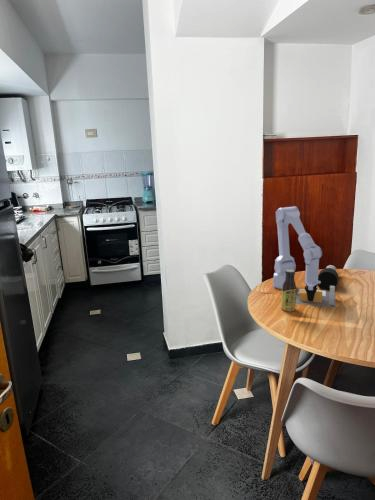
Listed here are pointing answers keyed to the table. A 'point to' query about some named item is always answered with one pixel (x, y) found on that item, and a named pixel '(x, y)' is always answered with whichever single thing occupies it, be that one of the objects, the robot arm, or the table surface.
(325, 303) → the board
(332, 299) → the clasp
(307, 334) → the table surface
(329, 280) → the black and grey cylinder
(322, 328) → the table surface
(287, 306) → the sauce bottle
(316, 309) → the table surface
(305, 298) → the block
